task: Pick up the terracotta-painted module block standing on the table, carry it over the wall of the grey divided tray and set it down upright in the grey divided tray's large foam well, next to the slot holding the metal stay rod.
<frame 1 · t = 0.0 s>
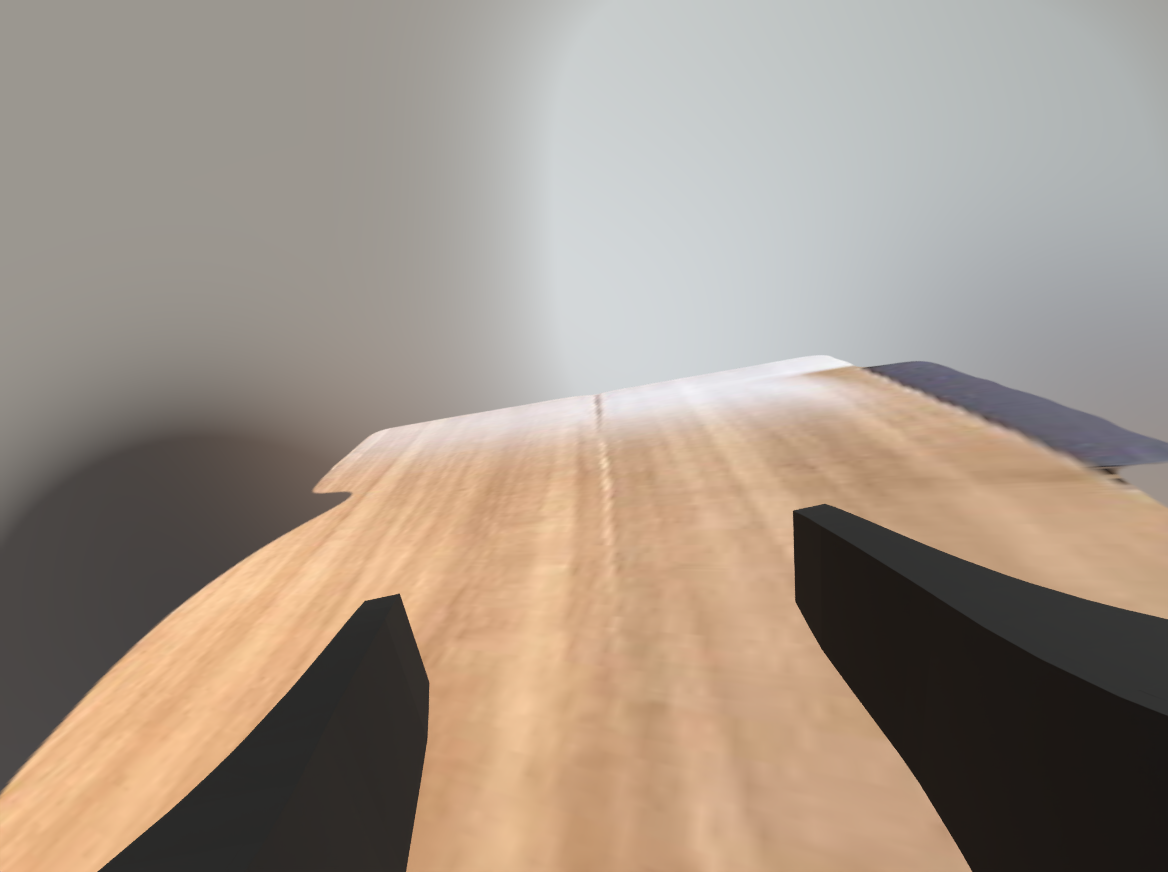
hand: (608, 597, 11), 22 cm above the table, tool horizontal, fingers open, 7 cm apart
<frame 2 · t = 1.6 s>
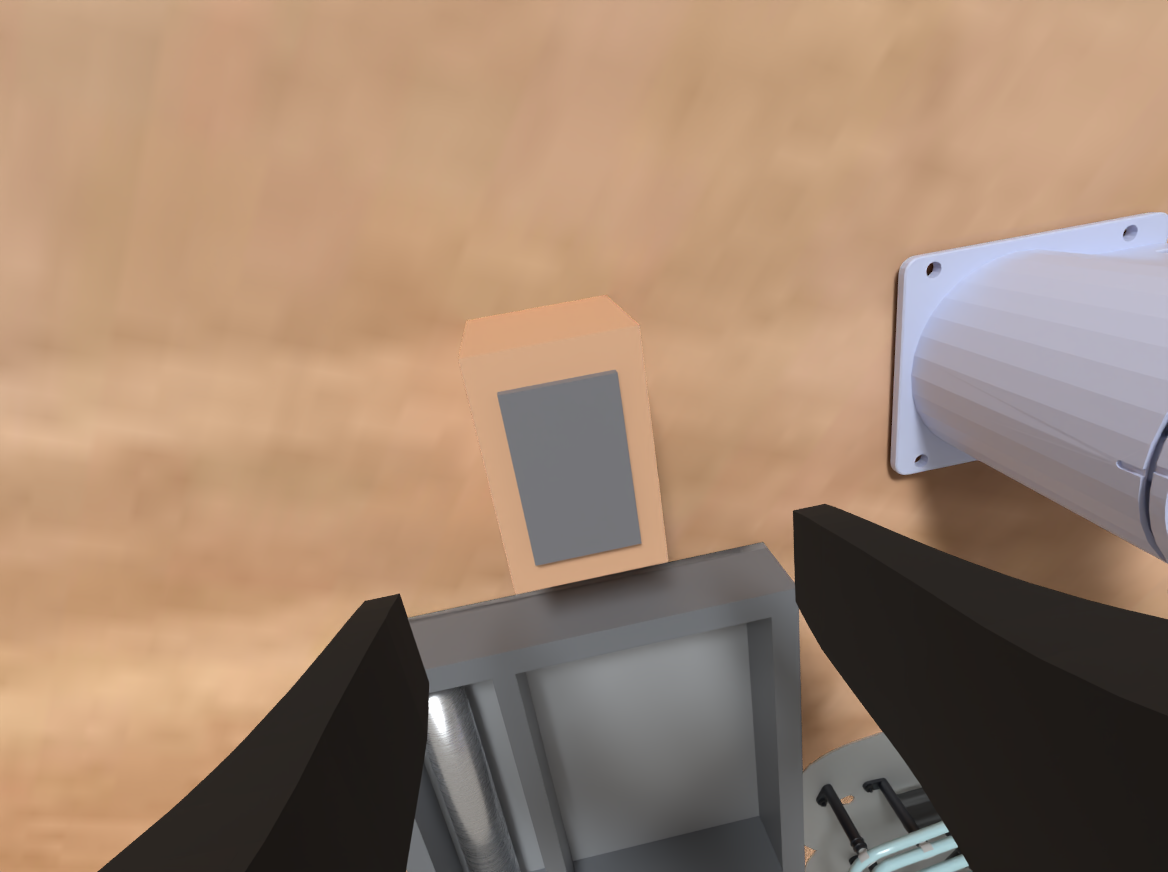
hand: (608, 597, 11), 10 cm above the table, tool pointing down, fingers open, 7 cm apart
module block: (555, 408, 21), on the table
neon sign: (1050, 799, 33), on the table
grey divided tray: (593, 736, 26), on the table
stay rod: (478, 771, 25), resting on grey divided tray, tilted 19°
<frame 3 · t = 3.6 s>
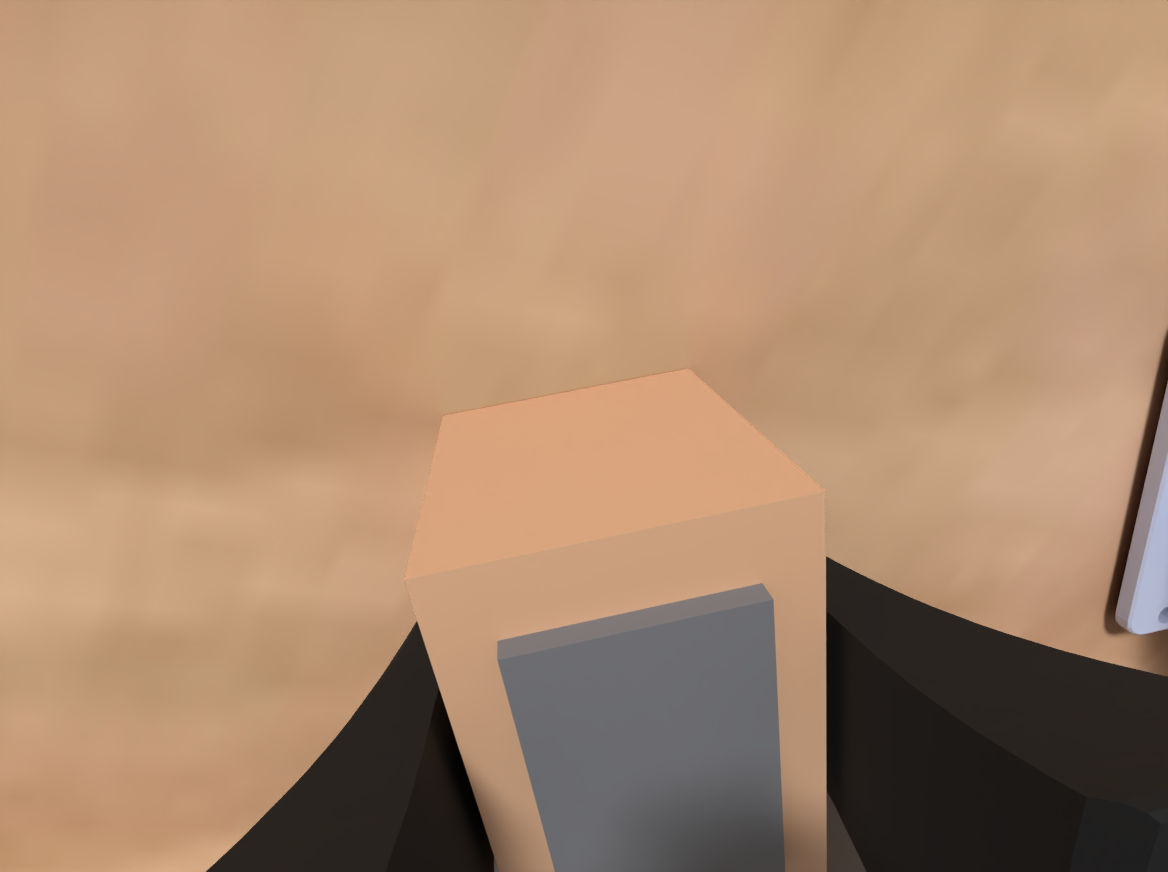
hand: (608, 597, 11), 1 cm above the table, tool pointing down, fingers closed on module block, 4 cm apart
module block: (595, 554, 12), on the table, touching gripper
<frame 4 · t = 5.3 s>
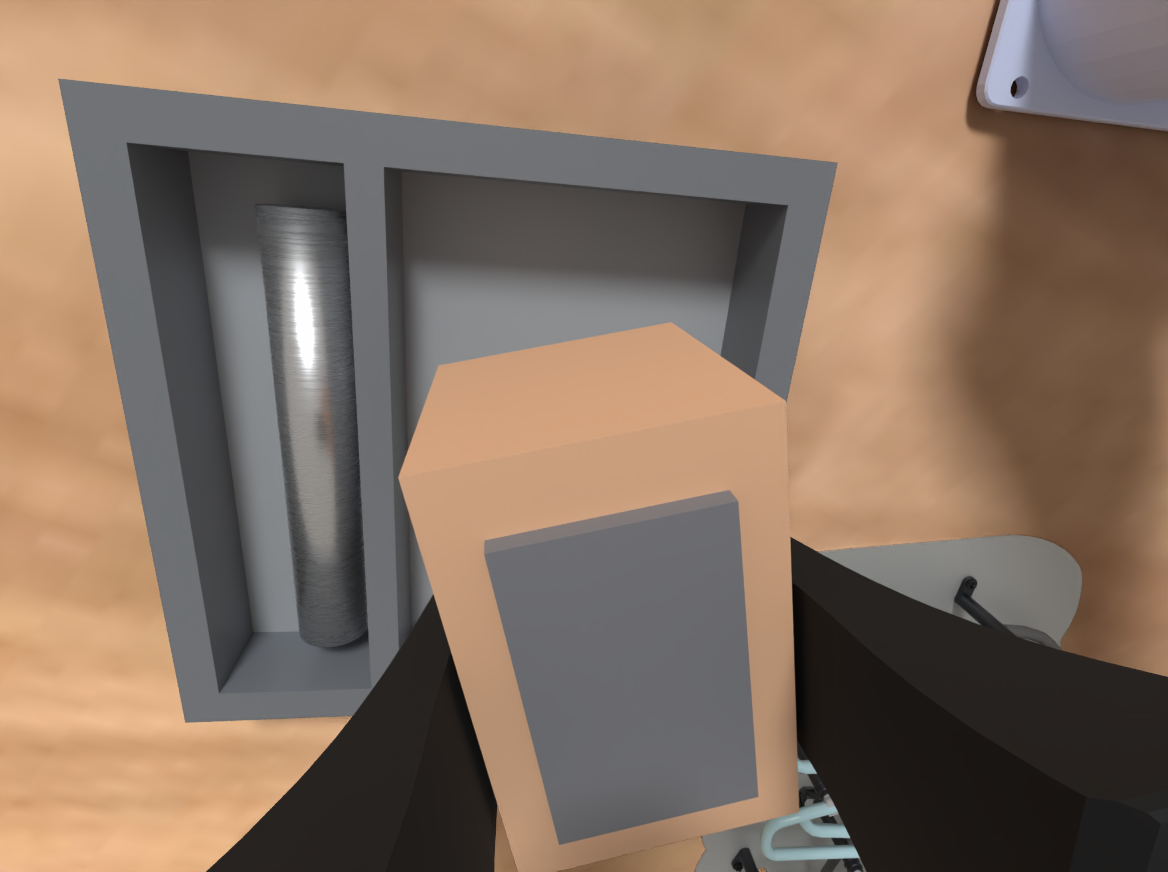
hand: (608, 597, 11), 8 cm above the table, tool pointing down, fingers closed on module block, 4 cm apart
module block: (584, 504, 13), point 6 cm above the table, touching gripper
neon sign: (1007, 721, 28), on the table
grey divided tray: (480, 430, 18), on the table
stay rod: (301, 433, 17), point 1 cm above the table, tilted 44°, touching grey divided tray
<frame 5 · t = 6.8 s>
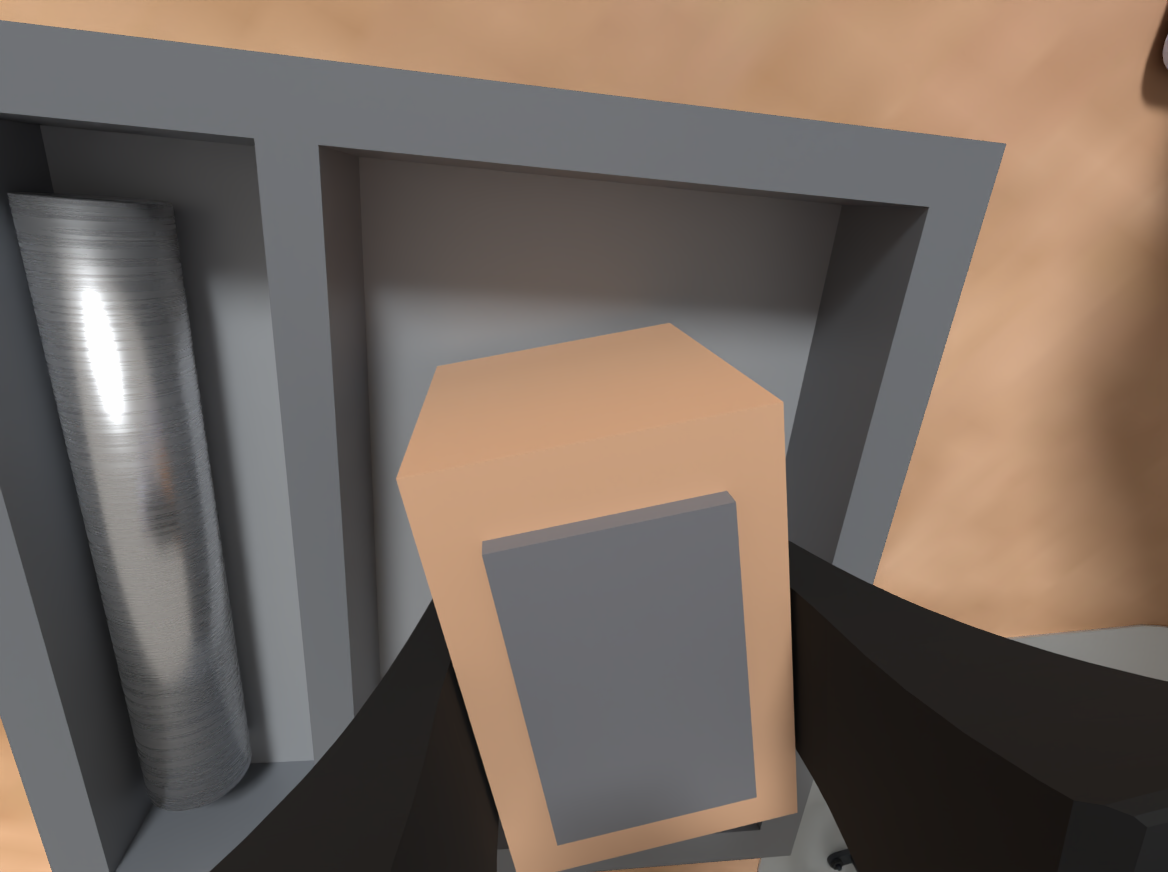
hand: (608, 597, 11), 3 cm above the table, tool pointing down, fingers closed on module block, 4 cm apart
module block: (583, 504, 13), point 1 cm above the table, touching gripper
neon sign: (1106, 830, 23), on the table
grey divided tray: (473, 506, 14), on the table
stay rod: (216, 520, 12), point 1 cm above the table, tilted 50°, touching grey divided tray
when the fingers open (3 cm above the table, at t = 7.1 s): module block stays where it is, resting on grey divided tray.
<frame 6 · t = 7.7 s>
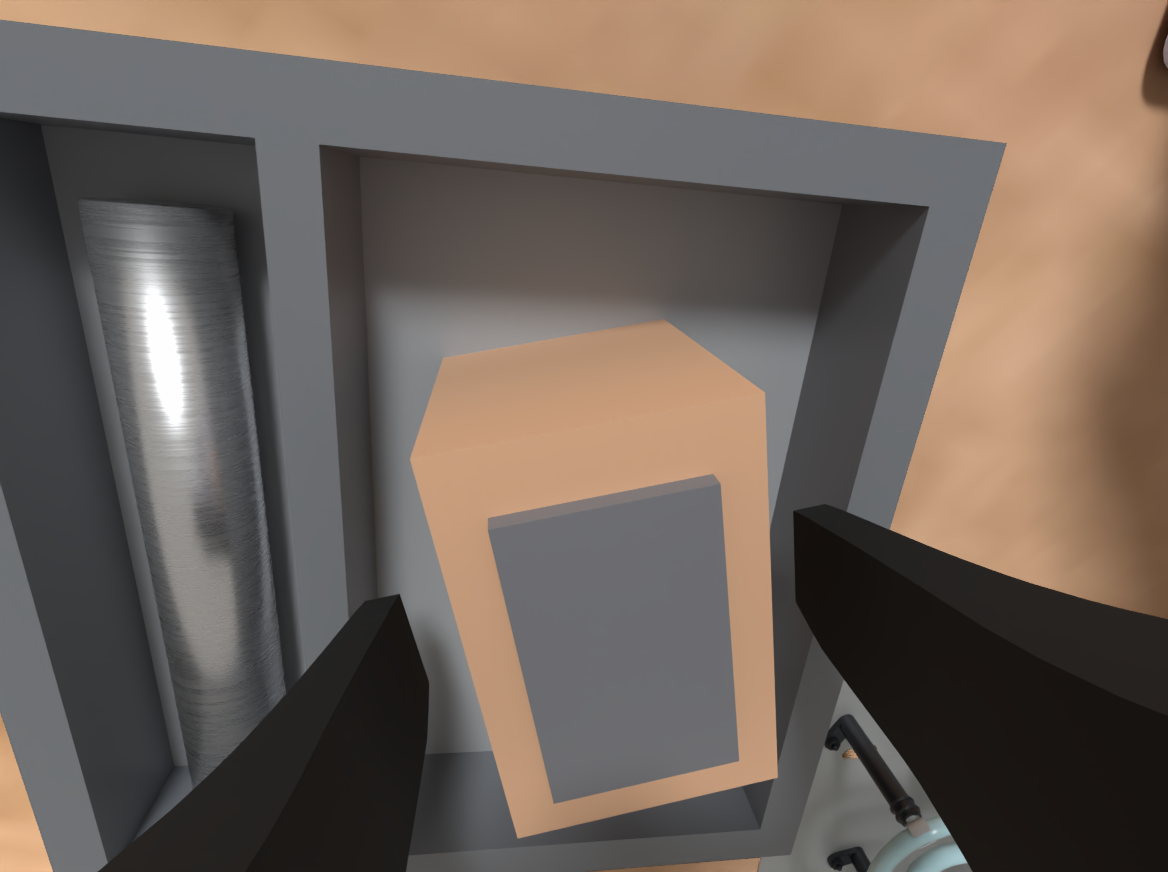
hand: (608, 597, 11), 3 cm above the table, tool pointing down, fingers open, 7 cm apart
module block: (580, 491, 13), resting on grey divided tray
neon sign: (1105, 832, 23), on the table
grey divided tray: (474, 506, 14), on the table
stay rod: (229, 511, 13), resting on grey divided tray
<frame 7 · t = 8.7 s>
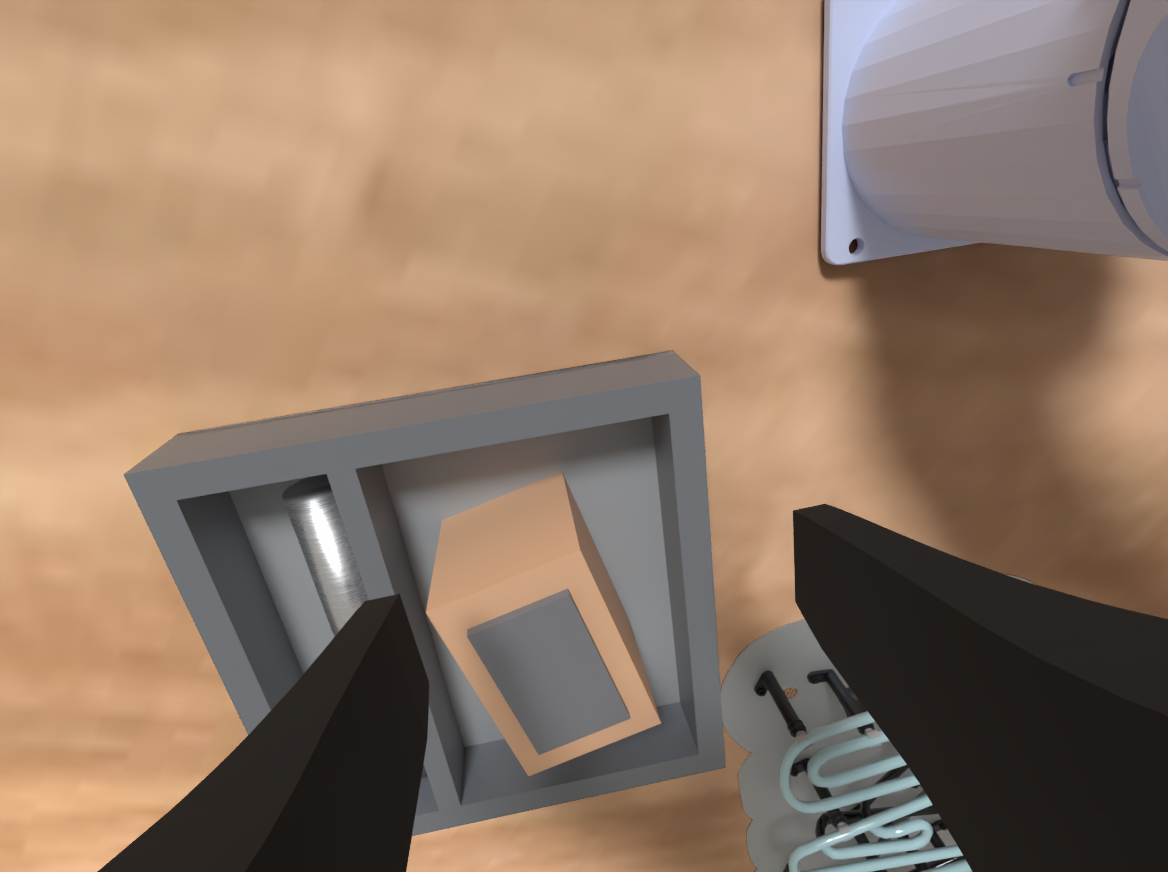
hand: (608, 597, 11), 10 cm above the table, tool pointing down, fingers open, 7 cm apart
module block: (541, 573, 22), resting on grey divided tray
neon sign: (1012, 720, 30), on the table
grey divided tray: (481, 592, 23), on the table
stay rod: (346, 633, 22), point 1 cm above the table, tilted 61°, touching grey divided tray
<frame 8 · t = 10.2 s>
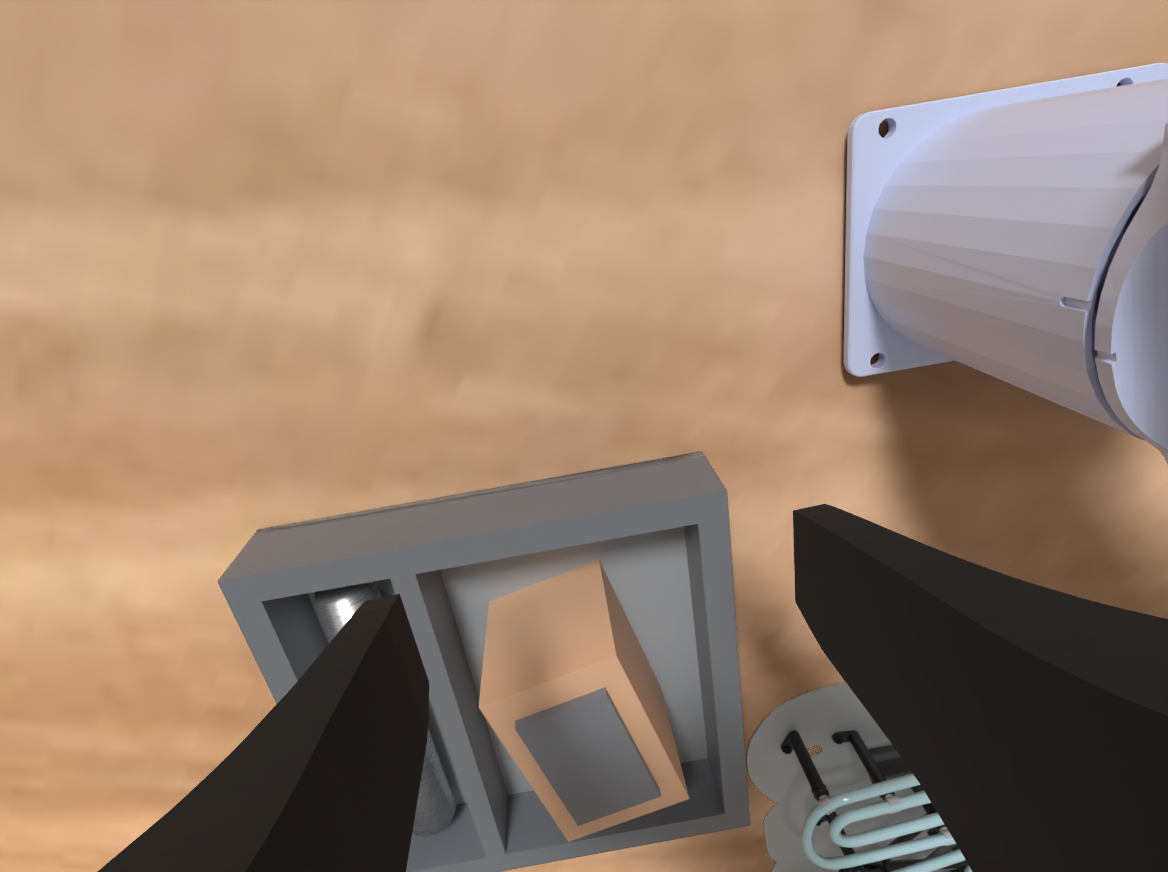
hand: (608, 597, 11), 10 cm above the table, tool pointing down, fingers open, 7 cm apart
module block: (579, 646, 24), resting on grey divided tray
neon sign: (1034, 778, 31), on the table
grey divided tray: (524, 661, 25), on the table
stay rod: (401, 690, 24), resting on grey divided tray, tilted 8°
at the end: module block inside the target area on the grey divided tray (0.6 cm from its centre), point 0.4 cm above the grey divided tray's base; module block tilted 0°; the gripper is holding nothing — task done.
